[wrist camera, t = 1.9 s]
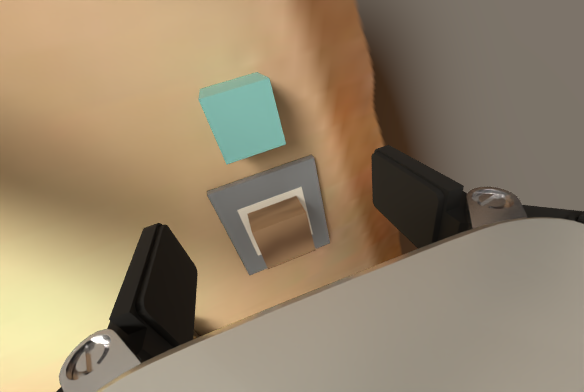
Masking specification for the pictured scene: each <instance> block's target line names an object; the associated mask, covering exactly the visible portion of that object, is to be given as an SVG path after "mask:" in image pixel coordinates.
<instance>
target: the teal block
mask: <svg viewBox="0 0 584 392" xmlns="http://www.w3.org/2000/svg"><path fill="white" fill-rule="evenodd" d="M199 102H200V104H201V106H202V109H203V111H204V113H205V116H206V118H207V120H208V123H209V125H210V127H211V129H212V132H213V134H214V136H215V139H216V141H217V143H218V146H219V148H220V150H221V153H222V155H223V157H224V160H225V162H226V164H230V163H233V162H236V161H238V160H241V159H244V158H247V157H250V156H253V155H256V154H259V153H262V152H265V151H268V150H271V149H274V148H277V147H280V146H282V145H285V144H286V142H285V138H284V134H283V130H282V126H281V122H280V118H279V114H278V111H277V107H276V103H275V99H274V95H273V91H272V87H271V83H270V79H269V78H268V77H266V76H264V75H262V74H260V73H258V72H256V73H252V74H249V75H246V76H242V77H239V78H236V79H232V80H229V81H226V82H222V83H219V84H215V85H212V86H209V87H205V88H202V89H200V93H199Z"/></svg>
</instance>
